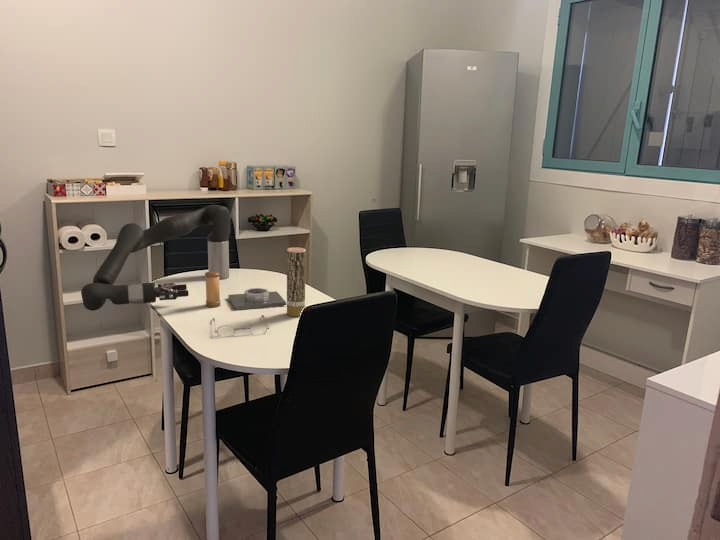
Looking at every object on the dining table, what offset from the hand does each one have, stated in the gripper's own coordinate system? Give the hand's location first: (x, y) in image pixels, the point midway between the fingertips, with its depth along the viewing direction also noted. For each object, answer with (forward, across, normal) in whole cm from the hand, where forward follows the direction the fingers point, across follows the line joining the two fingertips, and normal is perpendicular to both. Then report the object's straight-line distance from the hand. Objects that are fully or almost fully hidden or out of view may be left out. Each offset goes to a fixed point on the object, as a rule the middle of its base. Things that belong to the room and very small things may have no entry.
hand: (187, 290), depth 214 cm
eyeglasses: (+15, -26, +8) cm, 31 cm away
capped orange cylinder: (+9, 0, +7) cm, 12 cm away
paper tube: (+37, -19, +7) cm, 43 cm away
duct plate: (+26, 0, +7) cm, 27 cm away
